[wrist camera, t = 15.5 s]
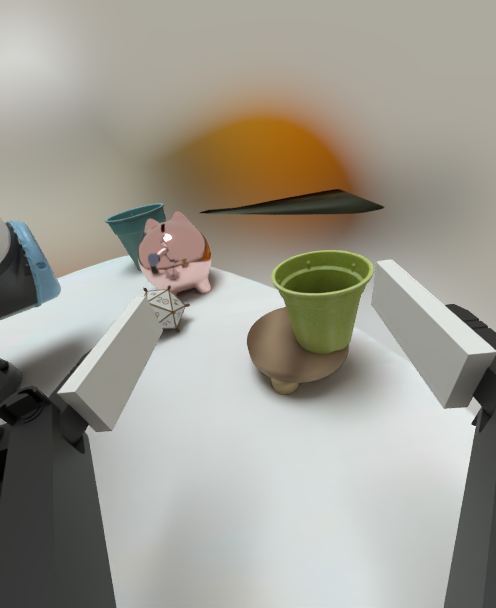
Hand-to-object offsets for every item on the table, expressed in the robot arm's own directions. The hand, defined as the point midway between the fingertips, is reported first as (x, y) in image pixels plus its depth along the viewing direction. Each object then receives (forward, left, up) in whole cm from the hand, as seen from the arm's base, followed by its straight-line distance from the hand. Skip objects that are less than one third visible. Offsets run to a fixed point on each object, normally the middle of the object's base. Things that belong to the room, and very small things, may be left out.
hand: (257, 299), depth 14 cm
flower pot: (-36, +57, -17) cm, 70 cm away
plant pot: (+5, +10, -12) cm, 17 cm away
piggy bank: (-21, +38, -17) cm, 46 cm away
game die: (-20, +22, -17) cm, 34 cm away
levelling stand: (+2, +11, -17) cm, 20 cm away
